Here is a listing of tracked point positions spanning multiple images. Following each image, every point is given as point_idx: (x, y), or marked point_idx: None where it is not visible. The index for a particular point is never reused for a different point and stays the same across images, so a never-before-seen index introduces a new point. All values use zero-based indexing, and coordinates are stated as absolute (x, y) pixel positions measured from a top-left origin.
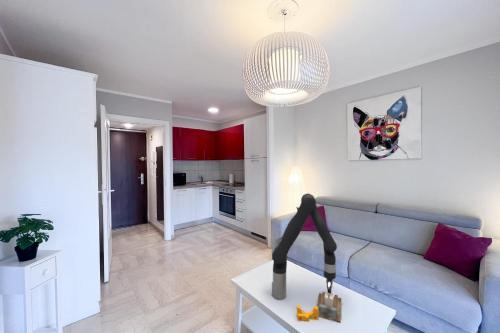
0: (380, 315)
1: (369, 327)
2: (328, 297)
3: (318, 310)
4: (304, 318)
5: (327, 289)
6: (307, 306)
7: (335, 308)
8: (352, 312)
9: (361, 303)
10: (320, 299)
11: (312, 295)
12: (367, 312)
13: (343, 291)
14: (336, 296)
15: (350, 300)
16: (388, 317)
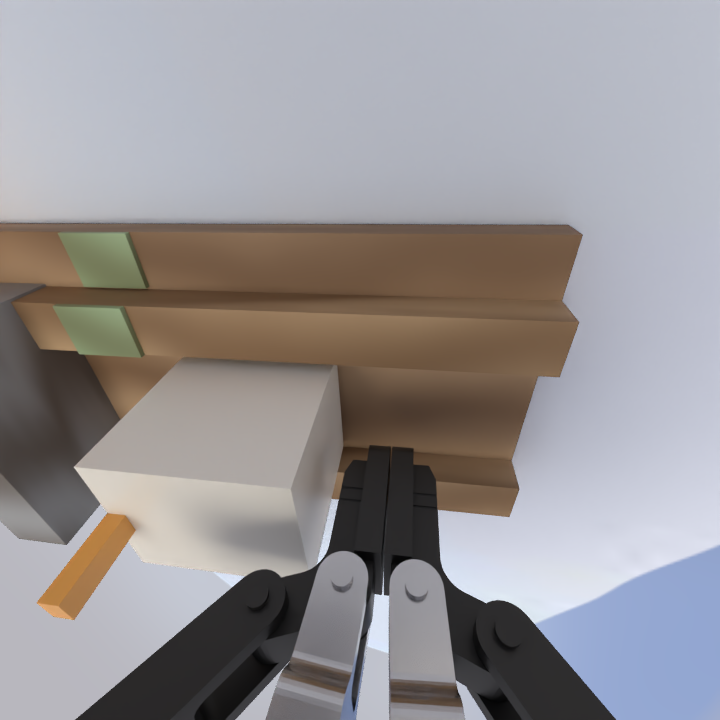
0: (382, 634)
1: (227, 578)
2: (98, 533)
3: (59, 269)
4: None
5: (165, 650)
6: (58, 20)
7: (46, 531)
8: (325, 537)
9: (484, 597)
10: (353, 277)
11: (505, 59)
12: (379, 600)
13: (697, 528)
14: (470, 502)
15: (508, 551)
16: (382, 651)
